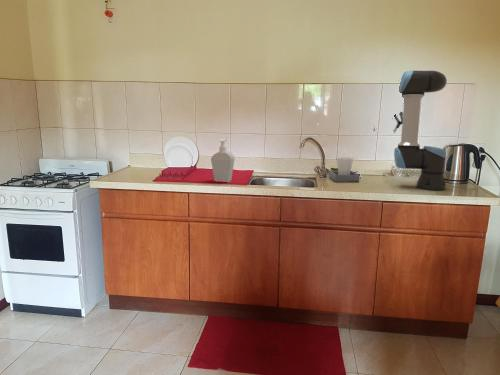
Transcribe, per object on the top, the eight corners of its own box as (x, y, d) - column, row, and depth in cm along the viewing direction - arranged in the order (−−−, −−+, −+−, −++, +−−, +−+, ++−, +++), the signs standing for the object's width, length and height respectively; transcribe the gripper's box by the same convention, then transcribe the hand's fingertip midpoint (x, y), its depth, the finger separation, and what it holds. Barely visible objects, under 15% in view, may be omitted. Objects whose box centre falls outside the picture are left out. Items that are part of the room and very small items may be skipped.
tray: (358, 182, 230) (359, 175, 229) (335, 182, 230) (335, 175, 229) (351, 177, 245) (352, 170, 244) (329, 177, 244) (329, 170, 243)
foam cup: (348, 180, 231) (349, 159, 228) (333, 178, 236) (334, 158, 233) (353, 178, 239) (354, 157, 236) (339, 176, 244) (340, 156, 241)
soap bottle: (235, 180, 235) (235, 138, 229) (231, 183, 225) (230, 140, 220) (216, 179, 237) (215, 138, 232) (211, 182, 228) (210, 139, 222)
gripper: (415, 111, 247) (404, 135, 240) (378, 110, 264) (367, 133, 256) (413, 103, 242) (401, 127, 235) (375, 102, 259) (364, 125, 251)
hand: (383, 130), depth 245 cm, fingers open, 13 cm apart
